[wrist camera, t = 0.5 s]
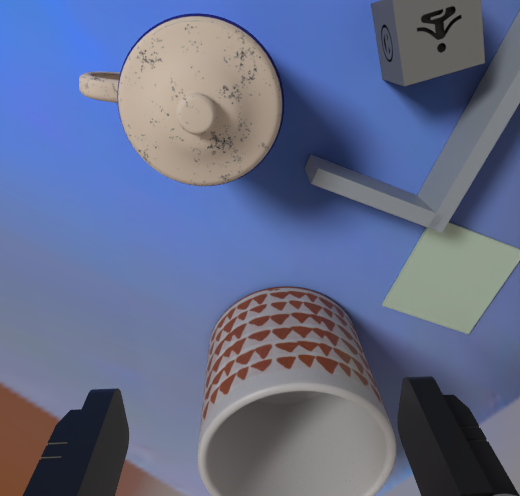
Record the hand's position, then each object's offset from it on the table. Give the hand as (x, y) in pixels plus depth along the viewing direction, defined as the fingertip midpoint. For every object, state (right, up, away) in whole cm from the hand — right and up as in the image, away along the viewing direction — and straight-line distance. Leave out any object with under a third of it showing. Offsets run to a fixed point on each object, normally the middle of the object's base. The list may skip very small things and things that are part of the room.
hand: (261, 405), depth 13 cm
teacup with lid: (-5, +16, +20) cm, 26 cm away
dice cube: (+10, +20, +19) cm, 29 cm away
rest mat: (+17, +2, +27) cm, 32 cm away
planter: (+2, -5, +30) cm, 30 cm away
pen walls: (+11, +16, +20) cm, 28 cm away
